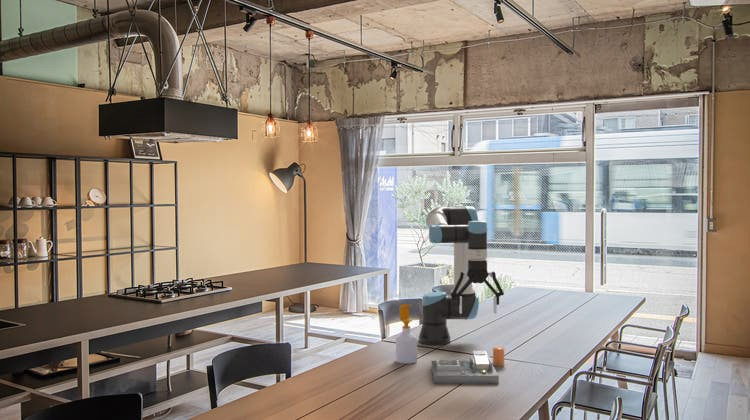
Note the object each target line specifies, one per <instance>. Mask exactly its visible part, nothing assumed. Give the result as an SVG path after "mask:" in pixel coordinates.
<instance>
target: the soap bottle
mask: <svg viewBox="0 0 750 420" xmlns="http://www.w3.org/2000/svg"><path fill="white" fill-rule="evenodd" d="M411 306H412V304H402V305H400V306H399V320H400V321H401V322H402V323H403V324H404V325H403V326H401V327H402V331H401V332H400V333H398V334H397V335H396V337H395V361H396V363H399V364H404V365H405V364H406V365H408V364H409V365H410V364H415V363H417V362H418V337H417V335H416V334H415V333H413V332H411V326H410V325H409V324H410V322H412V321H413V320H412V319H411V318H410V307H411Z"/></svg>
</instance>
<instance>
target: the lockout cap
mask: <svg viewBox="0 0 750 420" xmlns="http://www.w3.org/2000/svg"><path fill="white" fill-rule="evenodd" d="M492 363H493V365H494V367H496V366H503V367H505V347H501V346H495V347H493V348H492Z"/></svg>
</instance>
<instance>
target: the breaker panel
mask: <svg viewBox="0 0 750 420" xmlns="http://www.w3.org/2000/svg"><path fill="white" fill-rule="evenodd" d="M487 357H488V361H489V368H476V366H475V361H474V356H473V355H469V360H459V359H436V360H431V363H430V364H431V373H432V377H433V382H434V384H441V385H442V384H451V385H452V384H453V385H454V384H459V385H460V384H462V385H463V384H466V385H467V384H469V385H470V384H471V385H472V384H473V385H474V384H475V383H476V384H477V383H478V384H479V383H480V384H482V385H484V384H485V383H492V384H493V383H497V384H498V385H499V384H500V383H499V380H500V379H499V377H500V376H499V374H498V372H497V370H496V368H495V366H493V360H492V359H491V357H490V356H489V355H487ZM497 384H496V385H497ZM493 385H494V384H493Z"/></svg>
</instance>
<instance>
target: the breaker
mask: <svg viewBox="0 0 750 420" xmlns="http://www.w3.org/2000/svg"><path fill="white" fill-rule="evenodd" d="M472 356H473V359H474V361H475V366H476V368H489V361H488V357H487V356H488V354H487V351H486V350H473V354H472Z"/></svg>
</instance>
